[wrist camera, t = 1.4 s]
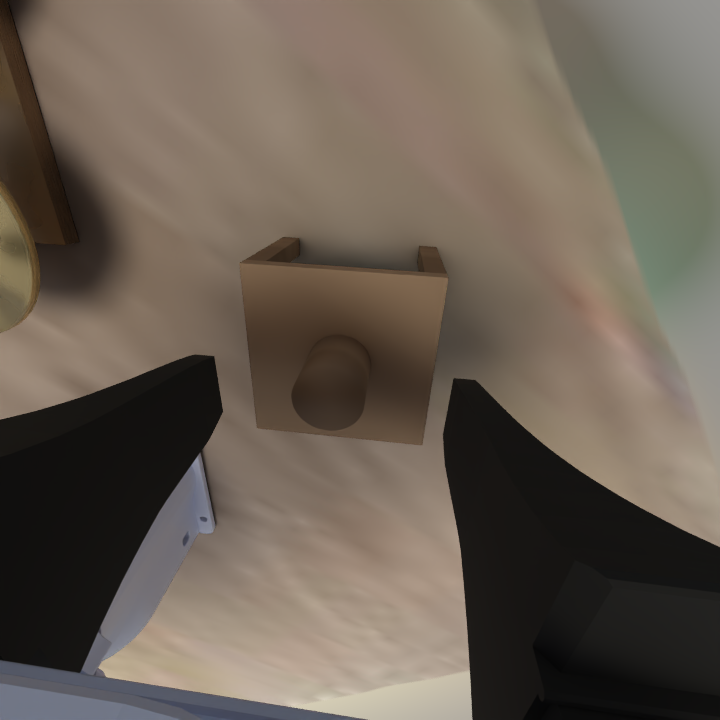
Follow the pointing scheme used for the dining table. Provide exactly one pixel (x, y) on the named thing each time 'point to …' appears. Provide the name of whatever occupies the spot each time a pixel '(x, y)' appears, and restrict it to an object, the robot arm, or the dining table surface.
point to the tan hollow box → (342, 344)
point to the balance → (24, 183)
